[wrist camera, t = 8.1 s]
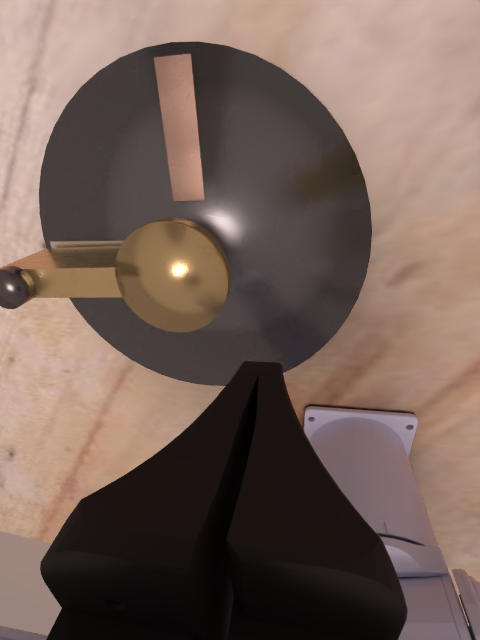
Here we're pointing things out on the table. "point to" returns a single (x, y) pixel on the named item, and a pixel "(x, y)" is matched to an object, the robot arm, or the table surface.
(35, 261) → the tan bar with ball
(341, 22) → the table surface
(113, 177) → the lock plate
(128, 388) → the table surface
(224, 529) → the robot arm
